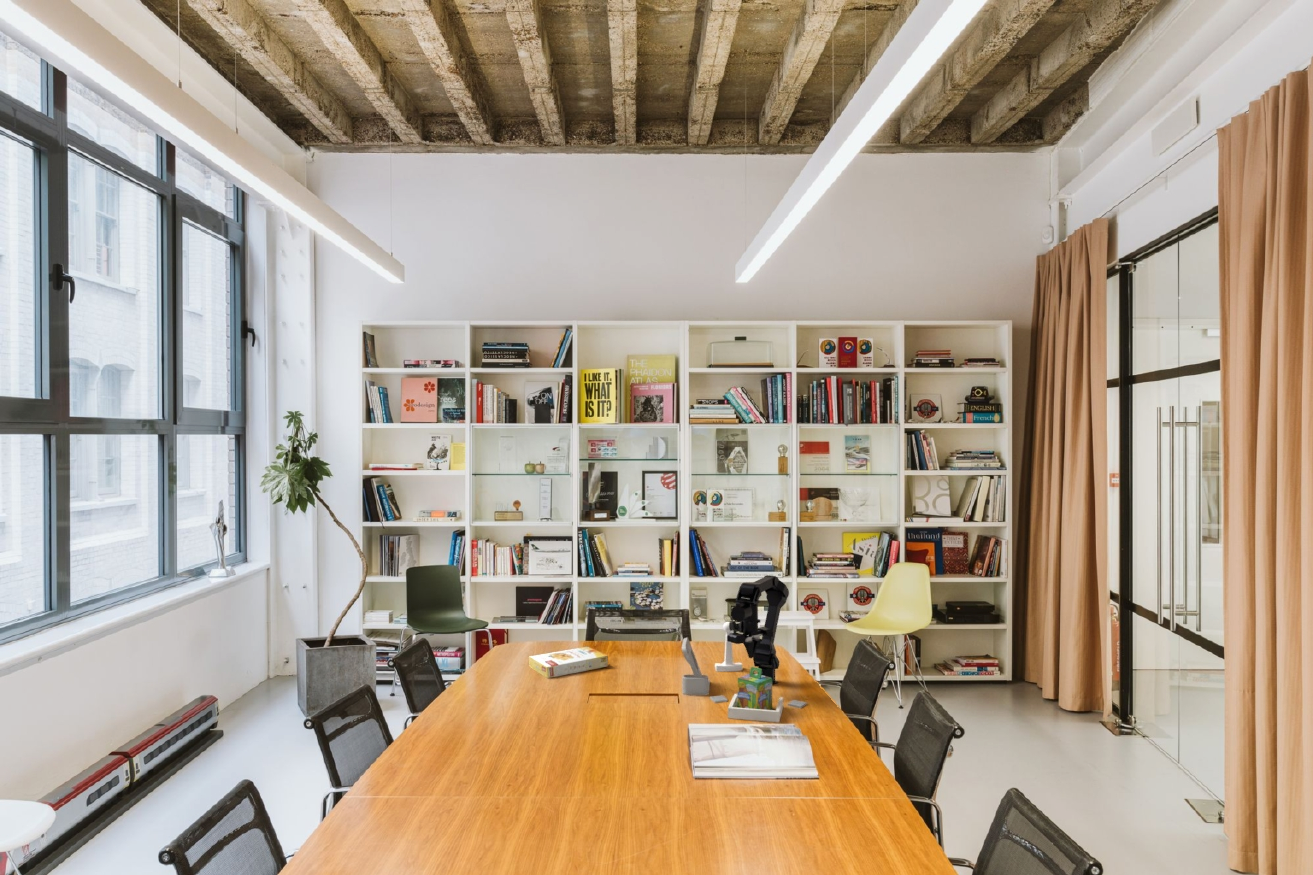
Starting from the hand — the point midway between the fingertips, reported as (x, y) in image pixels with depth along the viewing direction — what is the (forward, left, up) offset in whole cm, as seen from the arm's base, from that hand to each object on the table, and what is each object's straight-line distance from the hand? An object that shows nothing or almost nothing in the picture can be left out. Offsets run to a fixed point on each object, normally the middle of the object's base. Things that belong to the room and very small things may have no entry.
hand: (750, 657), depth 290 cm
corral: (+13, +16, -13) cm, 25 cm away
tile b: (+15, -1, -14) cm, 20 cm away
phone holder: (+13, -17, -13) cm, 25 cm away
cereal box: (+39, -71, -14) cm, 82 cm away
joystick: (-13, -28, -13) cm, 34 cm away
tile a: (-4, +20, -14) cm, 25 cm away
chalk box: (+12, +15, -13) cm, 23 cm away
